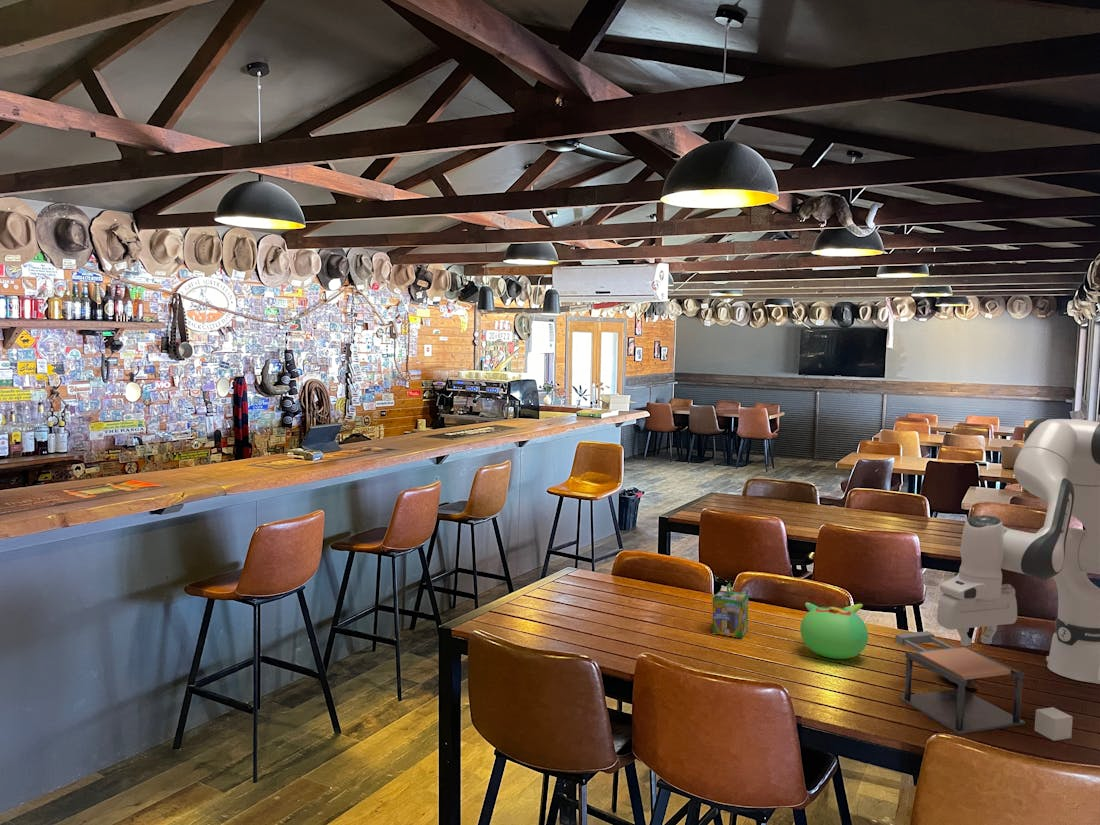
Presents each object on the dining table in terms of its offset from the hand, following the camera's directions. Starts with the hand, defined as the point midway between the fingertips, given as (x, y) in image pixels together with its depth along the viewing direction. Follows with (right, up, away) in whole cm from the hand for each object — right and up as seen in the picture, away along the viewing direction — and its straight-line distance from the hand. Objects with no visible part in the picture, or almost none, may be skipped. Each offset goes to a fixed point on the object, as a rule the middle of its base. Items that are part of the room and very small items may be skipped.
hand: (975, 644), depth 186 cm
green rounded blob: (-20, -15, +39) cm, 46 cm away
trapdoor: (-3, -6, +9) cm, 11 cm away
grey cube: (+14, -19, -6) cm, 24 cm away
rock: (+7, -17, +22) cm, 29 cm away
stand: (-1, -17, +5) cm, 18 cm away
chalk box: (-45, -13, +56) cm, 73 cm away
